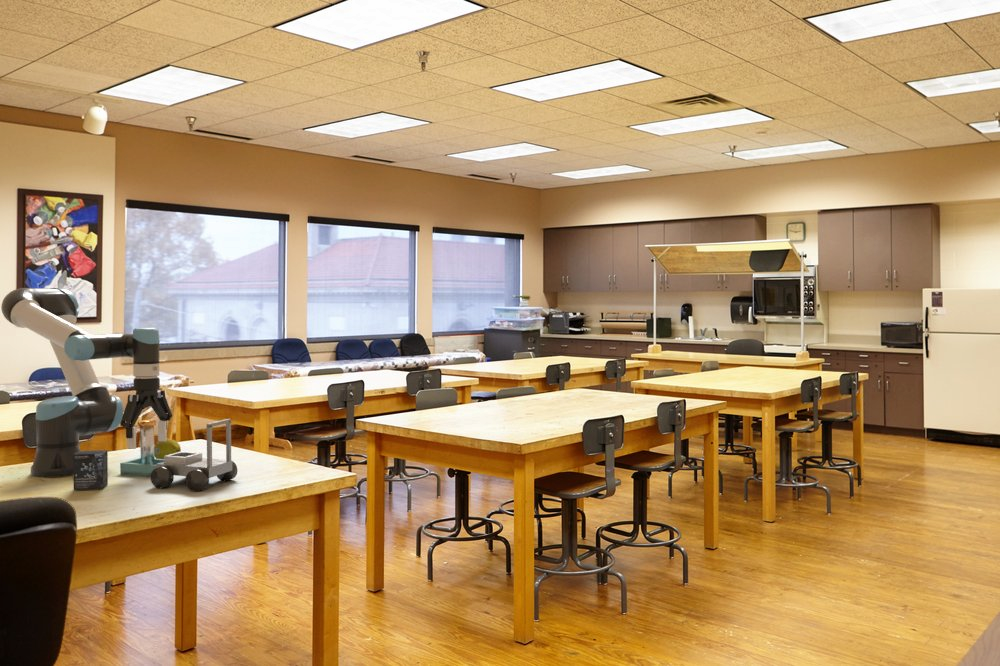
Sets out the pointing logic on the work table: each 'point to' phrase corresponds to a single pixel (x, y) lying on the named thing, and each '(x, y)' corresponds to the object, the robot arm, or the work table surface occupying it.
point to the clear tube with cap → (147, 441)
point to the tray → (138, 467)
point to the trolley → (196, 464)
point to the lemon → (166, 448)
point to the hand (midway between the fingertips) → (147, 444)
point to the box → (90, 470)
